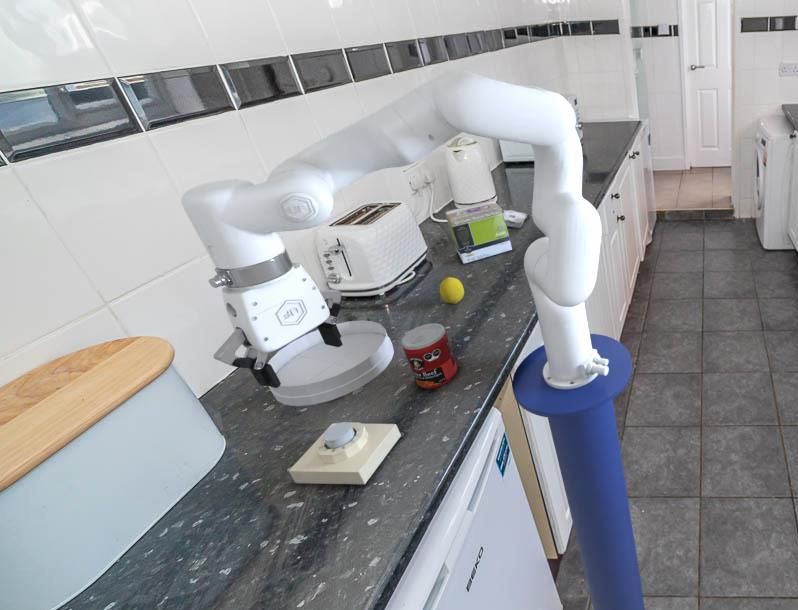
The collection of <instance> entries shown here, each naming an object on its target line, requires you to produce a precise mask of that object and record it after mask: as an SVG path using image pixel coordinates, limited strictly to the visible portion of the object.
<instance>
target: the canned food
mask: <svg viewBox="0 0 798 610" xmlns="http://www.w3.org/2000/svg"><path fill="white" fill-rule="evenodd" d="M400 341H401V345H402V349H403V352H404V354H405V357H406V359H407V362H408V364H409V367H410V369H411V373H412V374H413V377H414V380H415V381H416V384H417V385H418V386H419V387H420V388H422V389H435V388H436V389H437V388H440V387H442V386H444V385H446V384H447V383H449V382H450V381H451V380H452V379H453V378H454V377H455V376H456V374H457V372H458V365H457V362H456V359H455V356H454V353H453V350H452V346H451V343H450V340H449V337H448V335H447V331H446V328H445V327H444V326H443V325H442V324H440V323H437V322H435V323H434V322H433V323H432V322H431V323H426V324H421V325H418V326H416V327H414V328H412V329H411V330H410V331H408V332H407V333H405V335H403V336H402V339H401V340H400Z"/></svg>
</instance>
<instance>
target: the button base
mask: <svg viewBox="0 0 798 610" xmlns="http://www.w3.org/2000/svg"><path fill="white" fill-rule="evenodd" d="M338 423H339V422H334V423H331V424H330V425H329V426H328V428H327V429H329V428H330V427H332V426H333V425H335V424H338ZM348 423H350V424H351V426H352V428H353V430H354V432H355V437H354V438H353V439H352V441H350V442H349V443H347V444H346V445H344V446H342V447H339V448H336V449H329V448H328V447H327V445H326V443H325V441H324V439H323V434H324V433H325V431H324V432H323V433H322V434H321V435H320V436H319V438H318V439H316V441H314V443H313V444H312V445H311V446H310V447H309V448H308V449H307V450H306V451H305V453H303V455H301V456H300V458H299V459H298V460H297V461H296V462H295V463H294V464H293V465H292V466H291V468H290V469H289V470H288V473H289V474H290V476H291V478H292V479H293V481H294V483H295V484H314V485H315V484H321V485H322V484H323V485H325V484H326V485H366V484H367V483H368V481H369V479H370V478H371V477H372V476H373V475H374V473H375V472H376V471H377V469H378V468H379V466H380V465H381V464H382V462H383V461H384V460H385V458H386V457H387V455H388V454H389V453H390V452H391V450H393V447H394V446H395V445H396V444H397V442H398V441H399V439H401V437H402V434H401V432H400V430H399V428H398V425H397V424H396V423H361V422H353V421H350V422H348Z"/></svg>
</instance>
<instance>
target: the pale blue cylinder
mask: <svg viewBox="0 0 798 610" xmlns="http://www.w3.org/2000/svg"><path fill="white" fill-rule="evenodd" d="M337 423H338V424H335V425H333V426H332V427H330V426H329V427H330V428H329V427H328V428H329V429H328V428H327V429H326V430H325V431H324V432H325V433H324V432H323V433H324V434H323V433H322V434H323V439H324V441H325V443H326V445H327V447H328V448H329V449H336V448H339V447H342V446H344V445H346V444H347V443H349V442H350V441H352V439H353V438H354V437H355V432H354V430H353V428H352V426H351V424H350V423H349V422H348V421H342V422H337Z"/></svg>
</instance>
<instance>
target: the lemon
mask: <svg viewBox="0 0 798 610" xmlns="http://www.w3.org/2000/svg"><path fill="white" fill-rule="evenodd" d="M439 294H440V297H441V299H442V300H443V301H444V302H445V303H447V304H453V305H457V304H458V302H460V301H462V300H463V298H464V295H465V289H464V285H463V284H462V282H461V281H460V280H459V279H458V278H456V277H449V276H448V277H446V278H444V279H443V280H442V281H441V282H440V284H439Z"/></svg>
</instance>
